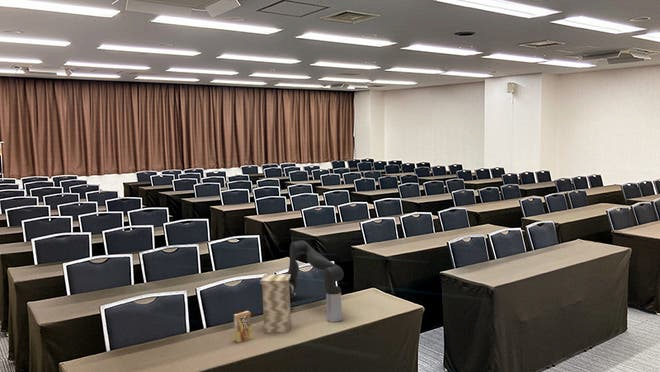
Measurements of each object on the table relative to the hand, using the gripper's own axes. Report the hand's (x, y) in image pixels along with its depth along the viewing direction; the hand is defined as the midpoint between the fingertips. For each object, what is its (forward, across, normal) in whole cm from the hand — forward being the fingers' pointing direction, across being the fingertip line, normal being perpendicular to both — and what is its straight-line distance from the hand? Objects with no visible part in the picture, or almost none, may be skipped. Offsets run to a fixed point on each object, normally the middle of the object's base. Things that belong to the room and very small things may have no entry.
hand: (283, 298), depth 324 cm
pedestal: (+24, 0, +11) cm, 26 cm away
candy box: (+41, -17, +11) cm, 45 cm away
